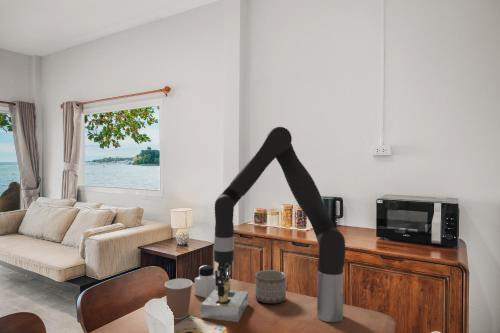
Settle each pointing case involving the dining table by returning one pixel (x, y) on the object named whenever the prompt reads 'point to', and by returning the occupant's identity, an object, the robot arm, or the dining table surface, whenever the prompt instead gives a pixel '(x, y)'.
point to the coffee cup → (178, 296)
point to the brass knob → (226, 289)
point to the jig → (225, 306)
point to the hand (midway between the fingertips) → (223, 292)
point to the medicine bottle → (205, 281)
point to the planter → (270, 286)
